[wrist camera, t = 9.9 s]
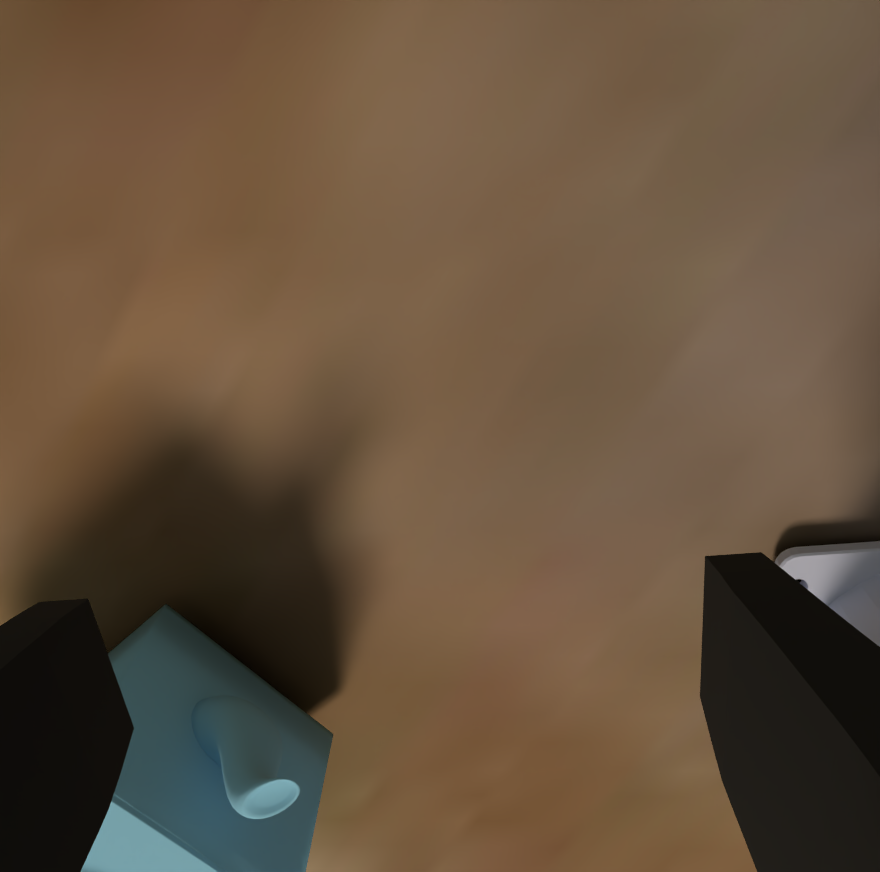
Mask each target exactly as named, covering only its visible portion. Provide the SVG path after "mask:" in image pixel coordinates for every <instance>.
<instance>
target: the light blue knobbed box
mask: <svg viewBox="0 0 880 872" xmlns="http://www.w3.org/2000/svg"><path fill="white" fill-rule="evenodd" d="M108 656H109V659H110V662H111V664H112V667H113V670H114V673H115V676H116V678H117V681H118V684H119V687H120V690H121V692H122V695H123V698H124V701H125V704H126V706H127V709H128V712H129V715H130V718H131V720H132V723H133V726H134V730H133V734H132V737H131V740H130V744H129V747H128V750H127V754H126V757H125V761H124V764H123V767H122V771H121V774H120V777H119V780H118V783H117V786H116V789H115V792H114V795H113V798H112V801H111V804H110V807H109V810H108V812H107V814H106V817H105V819H104V821H103V823H102V826H101V828H100V830H99V832H98V835H97V837H96V839H95V841H94V843H93V846H92V848H91V850H90V852H89V854H88V856H87V859H86V861H85V863H84V865H83V867H82V870H81V872H306V867H307V862H308V857H309V852H310V847H311V842H312V837H313V832H314V827H315V822H316V817H317V812H318V807H319V802H320V797H321V792H322V787H323V782H324V777H325V773H326V768H327V763H328V758H329V753H330V748H331V743H332V738H333V734H332V733H331V732H330V731H329V730H327V729H326V728H325V727H324V726H322V725H321V724H320V723H318V722H317V721H316V720H315V719H313V718H312V717H311V716H309V715H308V714H307V713H306V712H304V711H303V710H302V709H300V708H299V707H298V706H297V705H295V704H294V703H293V702H291V701H290V700H289V699H288V698H286V697H285V696H284V695H282V694H281V693H280V692H279V691H277V690H276V689H275V688H273V687H272V686H271V685H270V684H268V683H267V682H266V681H265V680H263V679H262V678H261V677H259V676H258V675H257V674H256V673H254V672H253V671H252V670H250V669H249V668H248V667H247V666H245V665H244V664H243V663H241V662H240V661H239V660H238V659H236V658H235V657H234V656H232V655H231V654H230V653H229V652H227V651H226V650H225V649H223V648H222V647H221V646H220V645H218V644H217V643H216V642H215V641H213V640H212V639H211V638H209V637H208V636H207V635H206V634H204V633H203V632H202V631H200V630H199V629H198V628H197V627H195V626H194V625H193V624H192V623H190V622H189V621H188V620H186V619H185V618H184V617H183V616H181V615H180V614H179V613H177V612H176V611H175V610H174V609H172V608H171V607H170V606H168V605H167V604H165V605H164V606H163V607H161V608H160V609H159V610H158V611H157V612H156V613H154V614H153V615H152V616H151V617H150V618H149V619H147V620H146V621H145V622H144V623H143V624H142V625H140V626H139V627H138V628H137V629H136V630H135V631H133V632H132V633H131V634H130V635H129V636H128V637H126V638H125V639H124V640H123V641H122V642H121V643H119V644H118V645H117V646H116V647H115V648H114V649H113V650H111V651H110V652H109V653H108Z"/></svg>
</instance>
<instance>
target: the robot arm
mask: <svg viewBox="0 0 880 872" xmlns="http://www.w3.org/2000/svg"><path fill="white" fill-rule="evenodd" d="M796 579H802V581H801V582H800V583H799V582H798V581H796ZM700 698H701V702H702V706H703V710H704V714H705V718H706V722H707V725H708V729H709V733H710V737H711V741H712V745H713V749H714V752H715V756H716V760H717V763H718V767H719V771H720V774H721V778H722V781H723V784H724V787H725V789H726V792H727V795H728V797H729V800H730V803H731V805H732V808H733V810H734V813H735V815H736V818H737V821H738V823H739V826H740V828H741V831H742V833H743V836H744V839H745V841H746V844H747V846H748V849H749V851H750V854H751V857H752V859H753V862H754V864H755V867H756V869H757V872H880V541H874V542H860V543H845V544H831V545H817V546H802V547H793V548H789V549H786V550H785V551H783V552H781V553H780V554H779V556H778V557H777V558H776V560H775V563H774V562H773V561H772V560H770V559H769V558H768V557H766V556H765V555H764V554H763V553H761V552H760V553H745V554H731V555H716V556H705V576H704V603H703V631H702V658H701V686H700ZM133 730H134V726H133V723H132V720H131V718H130V715H129V712H128V709H127V706H126V704H125V701H124V698H123V695H122V692H121V690H120V687H119V684H118V681H117V678H116V676H115V673H114V670H113V667H112V664H111V662H110V659H109V656H108V653H107V650H106V648H105V645H104V642H103V639H102V636H101V634H100V631H99V628H98V625H97V622H96V620H95V617H94V614H93V611H92V608H91V606H90V603H89V600H88V599H77V600H63V601H48V602H39V603H37V604H35V605H34V606H32V607H30V608H28V609H27V610H25V611H23V612H21V613H20V614H18V615H17V616H15V617H13V618H12V619H10V620H9V621H7V622H6V623H4V624H2V625H1V626H0V872H81V870H82V867H83V865H84V863H85V861H86V859H87V856H88V854H89V852H90V850H91V848H92V846H93V843H94V841H95V839H96V837H97V835H98V832H99V830H100V828H101V826H102V823H103V821H104V819H105V817H106V814H107V812H108V810H109V807H110V804H111V801H112V798H113V795H114V792H115V789H116V786H117V783H118V780H119V777H120V774H121V771H122V767H123V764H124V761H125V757H126V754H127V750H128V747H129V744H130V740H131V737H132V734H133Z"/></svg>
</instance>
